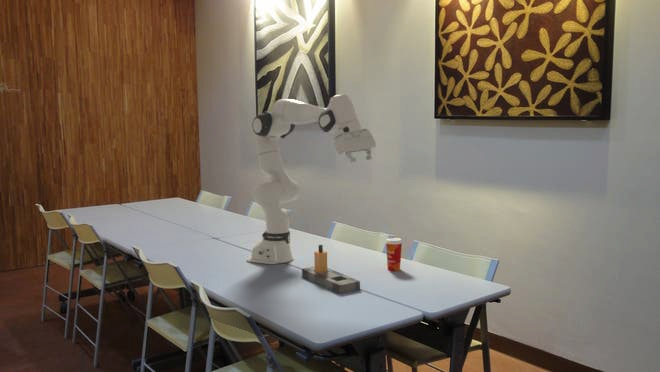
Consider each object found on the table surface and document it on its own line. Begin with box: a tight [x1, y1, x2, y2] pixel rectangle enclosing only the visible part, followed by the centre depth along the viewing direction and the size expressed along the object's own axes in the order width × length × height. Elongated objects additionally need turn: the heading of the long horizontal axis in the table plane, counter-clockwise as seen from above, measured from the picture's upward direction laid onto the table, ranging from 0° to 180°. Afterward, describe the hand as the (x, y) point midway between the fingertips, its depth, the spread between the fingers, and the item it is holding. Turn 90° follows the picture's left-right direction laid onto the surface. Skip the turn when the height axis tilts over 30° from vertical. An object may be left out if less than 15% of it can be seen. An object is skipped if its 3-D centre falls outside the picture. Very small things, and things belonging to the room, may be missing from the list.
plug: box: [313, 244, 328, 273], centre depth 255 cm, size 4×4×15 cm
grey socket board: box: [301, 266, 361, 295], centre depth 250 cm, size 30×10×4 cm, turn 33°
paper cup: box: [385, 237, 403, 272], centre depth 268 cm, size 8×8×14 cm
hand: (361, 161), depth 244 cm, fingers open, 8 cm apart
